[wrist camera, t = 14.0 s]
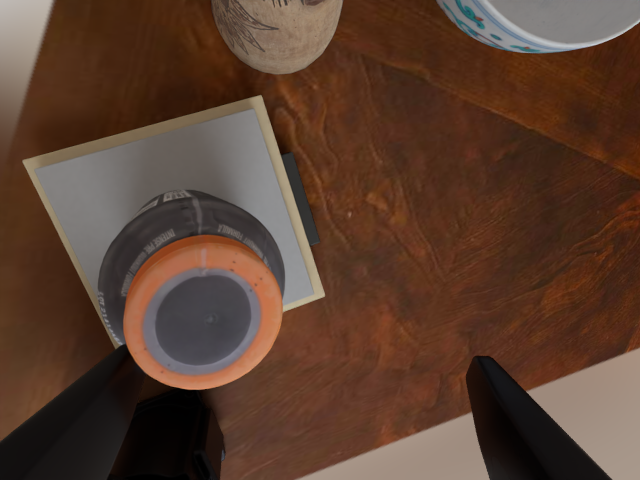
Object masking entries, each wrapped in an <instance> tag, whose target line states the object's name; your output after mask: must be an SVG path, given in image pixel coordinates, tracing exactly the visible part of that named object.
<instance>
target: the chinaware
mask: <svg viewBox="0 0 640 480" xmlns="http://www.w3.org/2000/svg"><path fill="white" fill-rule="evenodd" d="M436 1H437V3H438V5H439V6H440V8H441V9H442V10H443V12H444V13H445V14H446V15H447V17H448V18H449V19H450V20H451V21H452V22H453V23H454V24H455V25H456V26H457V27H459V28H460V29H461V30H462V31H464V32H465V33H466V34H468V35H469V36H471V37H473V38H474V39H476V40H478V41H480V42H482V43H484V44H487V45H489V46H492V47H495V48H499V49H503V50H508V51H514V52H522V53H550V52H561V51H568V50H575V49H580V48H585V47H589V46H593V45H597V44H600V43H603V42H605V41H608V40H610V39H613V38H615V37H617V36H619V35H621V34H622V33H624V32H626V31H627V30H629V29H630V28H632V27H633V26H635V25H636V24H637V23H639V22H640V0H436Z"/></svg>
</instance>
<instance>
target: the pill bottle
mask: <svg viewBox="0 0 640 480" xmlns="http://www.w3.org/2000/svg"><path fill="white" fill-rule="evenodd" d="M284 290H285V268H284V263H283V259H282V256H281V252H280V250H279V248H278V245H277V243H276V242H275V240H274V238H273V236H272V235H271V233H270V232H269V231H268V230H267V229H266V227H265V226H264V225H263V224H262V223H261V222H260V221H259V220H258V219H257V218H255V217H254V216H253V215H251V214H250V213H249V212H247V211H245V210H244V209H242V208H240V207H238V206H236V205H235V204H232V203H229V202H227V201H225V200H222V199H220V198H217V197H215V196H212V195H210V194H207V193H204V192H201V191H196V190H174V191H169V192H166V193H163V194H161V195H158V196H156V197H154V198H153V199H151V200H150V201H148V202H147V203H146V204H145V205H144V206H142V207H141V209H140V210H139V211H138V212H137V213H136V214H135V215H134V216H133V217H132V218H131V220H130V221H129V222H128V223H127V224H126V225H125V226H124V227H123V228H122V230H121V231H120V233H119V234H118V235H117V236H116V238H115V239H114V240H113V241H112V242H111V244H110V246H109V248H108V250H107V252H106V254H105V256H104V258H103V262H102V264H101V267H100V271H99V278H98V302H99V307H100V311H101V315H102V317H103V320H104V322H105V324H106V326H107V328H108V330H109V331H110V333H111V335H112V336H113V337H114V339H115V340H116V341H117V342H118V343H119V344H120V345H122V344H127V347H128V349H129V351H130V353H131V355H132V356H133V358H134V360H135V362H136V363H137V364H138V365H139V366H140V368H141V369H142V370H143V371H144V372H146V373H147V374H148V375H149V376H151V377H152V378H154V379H156V380H158V381H159V382H161V383H164V384H166V385H169V386H172V387H177V388H182V389H188V390H202V389H210V388H214V387H218V386H222V385H224V384H227V383H229V382H232V381H234V380H236V379H238V378H240V377H241V376H243V375H244V374H246V373H248V372H249V371H250V370H251V369H253V368H254V367H255V366H256V365H257V364H258V363H259V362H260V361H261V360H262V359H263V358H264V357H265V355H266V354H267V353H268V352H269V350H270V349H271V347H272V345H273V343H274V341H275V339H276V337H277V335H278V333H279V330H280V326H281V321H282V314H283V303H282V300H283V296H284Z"/></svg>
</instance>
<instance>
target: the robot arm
mask: <svg viewBox="0 0 640 480" xmlns="http://www.w3.org/2000/svg"><path fill="white" fill-rule="evenodd" d="M145 376H146V372H144V371H143V370H142V369H141V368H140V366H139V365H138V364H137V363H136V362H135V360H134V358H133V356H132V355H131V353H130V351H129V349H128V347H127V344H122V345H120V346H119V347H118V348H116V349H115V350H114V351H113V352H111V353H110V354H109V355H108V356H106V357H105V358H104V359H103V360H101V361H100V362H99V363H98V364H96V365H95V366H94V367H93V368H91V369H90V370H89V371H88V372H86V373H85V374H84V375H83V376H81V377H80V378H79V379H78V380H76V381H75V382H74V383H73V384H71V385H70V386H69V387H68V388H66V389H65V390H64V391H63V392H61V393H60V394H59V395H58V396H56V397H55V398H54V399H53V400H51V401H50V402H49V403H48V404H46V405H45V406H44V407H43V408H41V409H40V410H39V411H38V412H36V413H35V414H34V415H33V416H31V417H30V418H29V419H28V420H26V421H25V422H24V423H23V424H21V425H20V426H19V427H18V428H16V429H15V430H14V431H13V432H11V433H10V434H9V435H8V436H6V437H5V438H4V439H3V440H1V441H0V480H220V471H221V462H222V461H223V460H224V459H225V453H226V452H225V448H224V446H223V434H222V432H221V429H220V427H219V425H218V423H217V420H216V418H215V416H214V414H213V411H212V409H210V408H208V407H207V408H206V406H205V403H204V401H203V399H202V397H201V394H200V392H199V390H191V391H193V393H187V391H188V389H182V388H176V389H174V390H171V391H168V392H166V393H163V394H161V395H158V396H156V397H153V398H150V399H148V400H145V401H143V402H140V403H138V404H137V401H138V398H139V395H140V392H141V389H142V386H143V382H144V379H145ZM466 384H467V389H468V394H469V399H470V404H471V409H472V414H473V418H474V424H475V428H476V433H477V437H478V442H479V445H480V449H481V452H482V455H483V459H484V462H485V465H486V468H487V472H488V475H489V478H490V480H612V479H611V478H610V477H609V476H608V475H607V474H606V473H605V472H604V471H603V470H602V469H601V468H600V467H599V466H598V465H597V464H596V463H595V462H594V461H593V460H592V459H591V457H589V456H588V454H587V453H586V452H585V451H584V450H583V449H582V448H581V447H580V446H579V445H578V444H577V443H576V442H575V441H574V440H573V439H572V438H571V437H570V436H569V435H568V434H567V433H566V432H565V431H564V430H563V429H562V428H561V427H560V426H559V425H558V424H557V423H556V422H555V421H554V420H553V419H552V418H551V417H550V416H549V415H548V414H547V413H546V412H545V411H544V410H543V409H542V408H541V407H540V406H539V405H538V404H537V403H536V402H535V401H534V400H533V399H532V398H531V396H529V394H528V393H527V392H526V391H525V390H524V389H523V388H522V387H521V386H520V385H519V384H518V383H517V382H516V381H515V380H514V379H513V378H512V377H511V376H510V375H509V374H508V373H507V372H506V371H505V370H504V369H503V368H502V367H501V366H500V365H499V364H498V363H497V362H496V361H495V360H494V359H493V358H492V357H490V356H475V357H473V359H472V361H471V364H470V366H469V369H468V371H467V374H466Z"/></svg>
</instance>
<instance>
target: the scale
mask: <svg viewBox="0 0 640 480" xmlns="http://www.w3.org/2000/svg"><path fill="white" fill-rule="evenodd" d="M22 162H23V164H24V166H25V168H26V170H27V172H28V174H29V176H30V178H31V180H32V182H33V184H34V186H35V188H36V190H37V192H38V194H39V196H40V198H41V200H42V202H43V204H44V206H45V208H46V210H47V212H48V214H49V216H50V218H51V220H52V222H53V224H54V226H55V228H56V230H57V232H58V234H59V236H60V238H61V240H62V242H63V244H64V246H65V248H66V250H67V252H68V254H69V256H70V258H71V260H72V262H73V264H74V266H75V268H76V270H77V273H78V275H79V277H80V279H81V281H82V283H83V285H84V287H85V289H86V291H87V293H88V295H89V297H90V299H91V301H92V303H93V305H94V307H95V309H96V311H97V313H98V315H99V317H100V319H101V321H102V323H103V325H104V327H105V329H106V331H107V333H108V335H109V337H110V339H111V341H112V343H113V345H114V347H115V349H116V348H118V347H119V346H120V344H119V343H118V342H117V341H116V340H115V339H114V337H113V336H112V335H111V333H110V331H109V330H108V328H107V326H106V324H105V322H104V320H103V317H102V315H101V311H100V307H99V302H98V278H99V271H100V267H101V264H102V262H103V258H104V256H105V254H106V252H107V250H108V248H109V246H110V244H111V242H112V241H113V240H114V239H115V238H116V236H117V235H118V234H119V233H120V231H121V230H122V228H123V227H124V226H125V225H126V224H127V223H128V222H129V221H130V220H131V218H132V217H133V216H134V215H135V214H136V213H137V212H138V211H139V210H140V209H141V207H142V206H144V205H145V204H146V203H147V202H148V201H150V200H151V199H153V198H154V197H156V196H158V195H161V194H163V193H166V192H169V191H174V190H196V191H201V192H204V193H207V194H210V195H212V196H215V197H217V198H220V199H222V200H225V201H227V202H229V203H232V204H235V205H236V206H238V207H240V208H242V209H244V210H245V211H247V212H249V213H250V214H251V215H253V216H254V217H255V218H257V219H258V220H259V221H260V222H261V223H262V224H263V225H264V226H265V227H266V229H267V230H268V231H269V232H270V233H271V235H272V236H273V238H274V240H275V242H276V243H277V245H278V248H279V250H280V252H281V256H282V259H283V263H284V268H285V290H284V296H283V300H282V303H283V312H284V311H287V310H290V309H292V308H295V307H298V306H300V305H303V304H306V303H308V302H311V301H314V300H316V299H319V298H322V297H324V296H325V293H324V290H323V287H322V284H321V281H320V278H319V275H318V271H317V268H316V265H315V262H314V259H313V256H312V252H311V249H310V246H311V245H314V244H317V243H319V242H320V239H319V236H318V233H317V230H316V226H315V223H314V220H313V217H312V213H311V210H310V207H309V204H308V200H307V197H306V194H305V191H304V187H303V184H302V181H301V178H300V174H299V171H298V168H297V165H296V162H295V158H294V155H293V152H289V153H285V154H282V155H280V152H279V149H278V145H277V142H276V139H275V136H274V133H273V130H272V127H271V123H270V120H269V117H268V114H267V111H266V108H265V104H264V101H263V98H262V95H259V96H255V97H251V98H248V99H244V100H241V101H237V102H233V103H230V104H226V105H222V106H219V107H215V108H211V109H208V110H204V111H200V112H197V113H193V114H189V115H186V116H182V117H178V118H175V119H171V120H168V121H164V122H160V123H157V124H153V125H149V126H146V127H142V128H138V129H135V130H131V131H127V132H124V133H120V134H116V135H113V136H109V137H106V138H102V139H98V140H95V141H91V142H87V143H84V144H80V145H76V146H73V147H69V148H65V149H62V150H58V151H54V152H51V153H47V154H43V155H40V156H36V157H33V158H29V159H25V160H23V161H22Z"/></svg>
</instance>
